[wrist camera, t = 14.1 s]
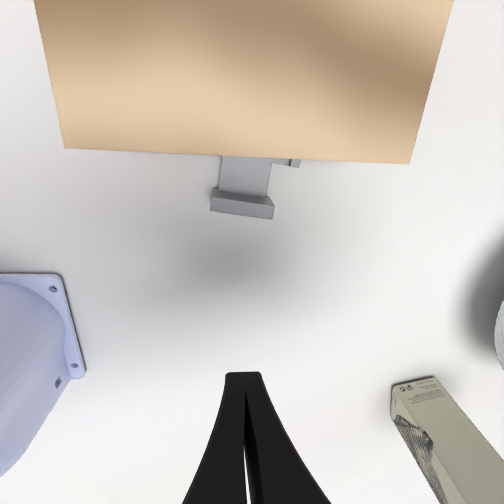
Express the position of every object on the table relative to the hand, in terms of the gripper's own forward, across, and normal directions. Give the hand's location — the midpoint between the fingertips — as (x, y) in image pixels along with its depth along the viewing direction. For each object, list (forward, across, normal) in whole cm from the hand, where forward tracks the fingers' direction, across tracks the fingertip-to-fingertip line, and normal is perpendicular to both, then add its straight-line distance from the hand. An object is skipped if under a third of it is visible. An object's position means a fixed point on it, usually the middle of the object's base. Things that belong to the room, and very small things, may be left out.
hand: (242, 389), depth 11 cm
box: (+10, -18, +14) cm, 25 cm away
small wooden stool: (+10, 0, -12) cm, 16 cm away
